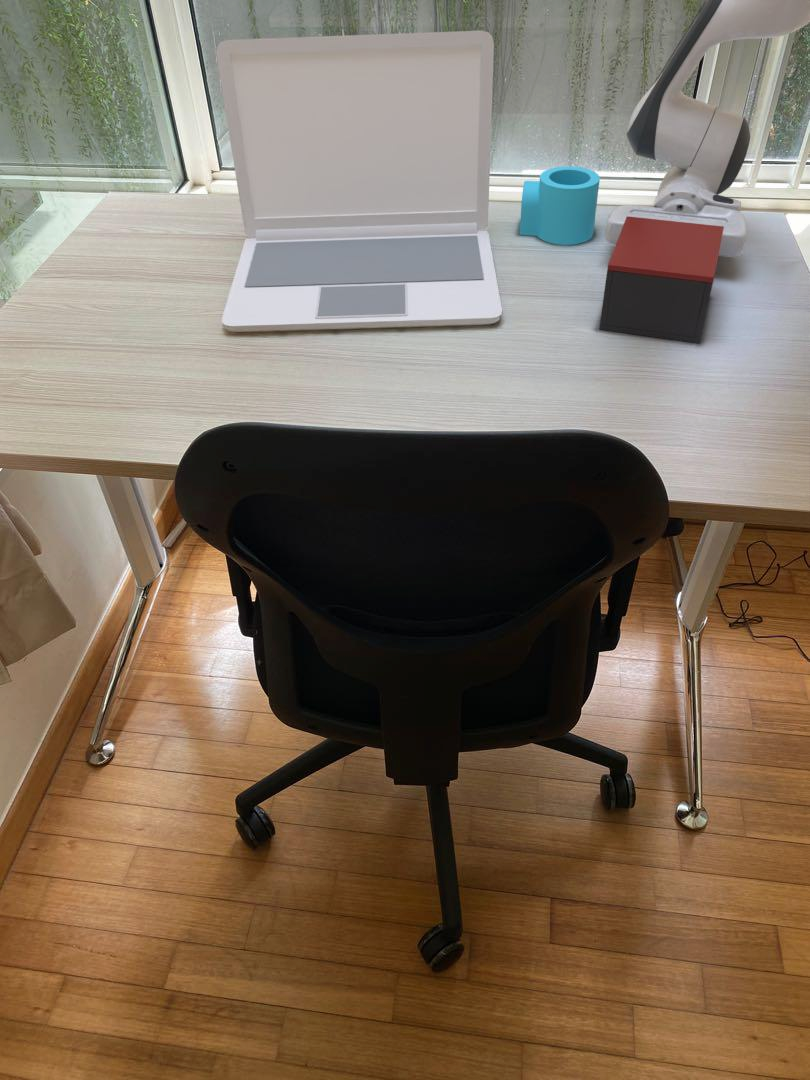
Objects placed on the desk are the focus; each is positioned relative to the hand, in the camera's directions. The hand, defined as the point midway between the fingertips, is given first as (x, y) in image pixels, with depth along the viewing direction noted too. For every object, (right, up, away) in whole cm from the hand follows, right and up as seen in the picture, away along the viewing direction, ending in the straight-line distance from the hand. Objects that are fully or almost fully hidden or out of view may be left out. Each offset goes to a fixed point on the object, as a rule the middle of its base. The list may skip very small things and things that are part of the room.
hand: (668, 253), depth 127 cm
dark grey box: (-2, -9, -1) cm, 10 cm away
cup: (-13, +10, +19) cm, 25 cm away
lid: (-2, -2, -7) cm, 7 cm away
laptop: (-45, -2, +8) cm, 45 cm away
